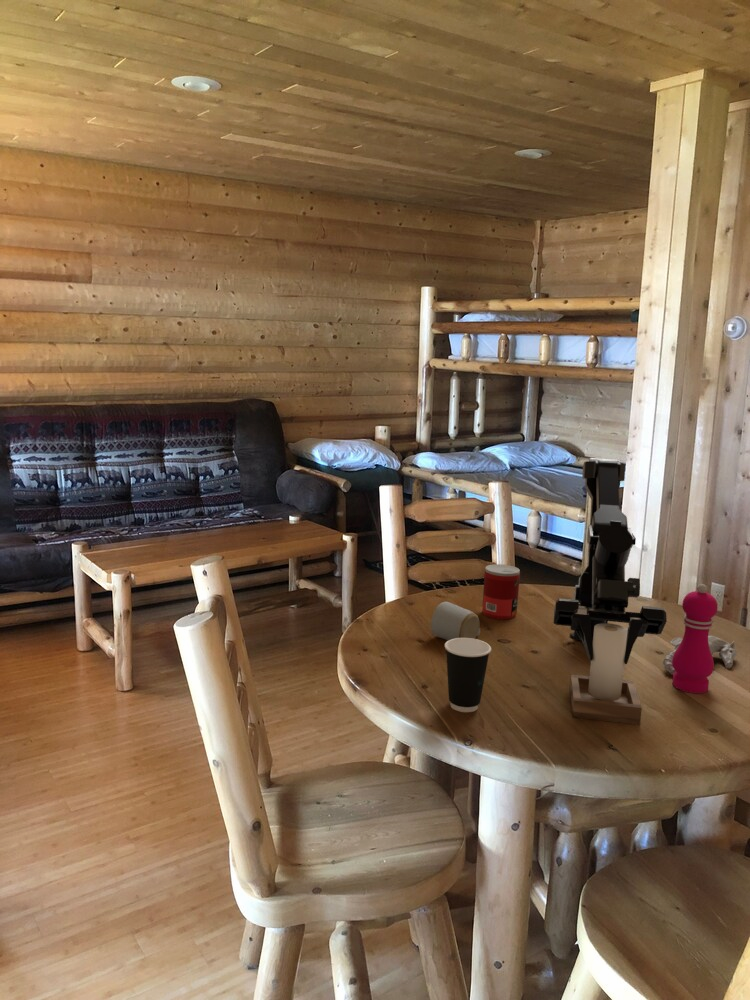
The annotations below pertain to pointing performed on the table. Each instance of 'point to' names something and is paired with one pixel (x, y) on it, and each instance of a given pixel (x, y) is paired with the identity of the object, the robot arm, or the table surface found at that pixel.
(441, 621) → the ceramic mug
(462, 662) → the dixie cup
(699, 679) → the pepper mill
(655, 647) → the table surface
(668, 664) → the seahorse
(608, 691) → the paper roll
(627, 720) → the tray
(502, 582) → the canned food
